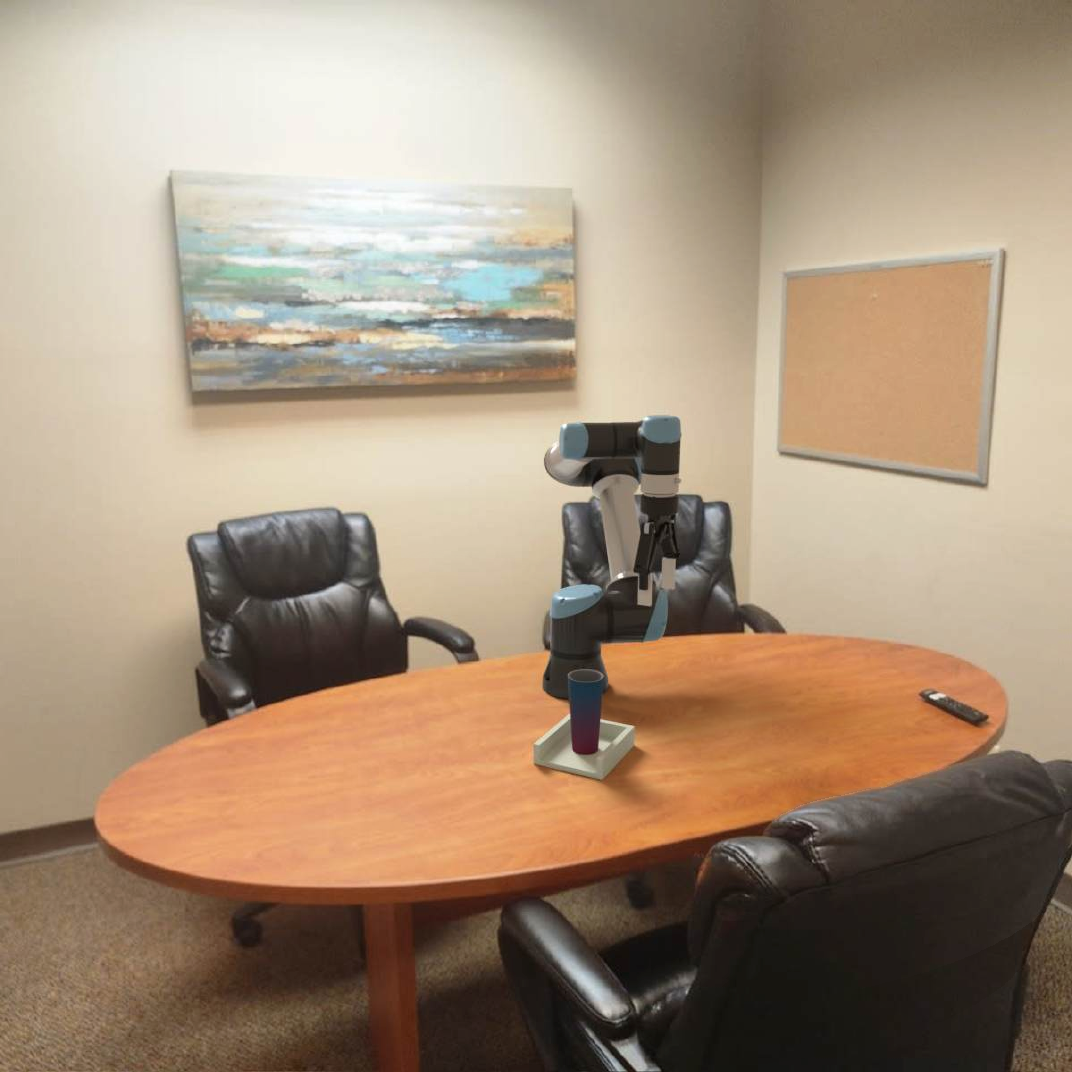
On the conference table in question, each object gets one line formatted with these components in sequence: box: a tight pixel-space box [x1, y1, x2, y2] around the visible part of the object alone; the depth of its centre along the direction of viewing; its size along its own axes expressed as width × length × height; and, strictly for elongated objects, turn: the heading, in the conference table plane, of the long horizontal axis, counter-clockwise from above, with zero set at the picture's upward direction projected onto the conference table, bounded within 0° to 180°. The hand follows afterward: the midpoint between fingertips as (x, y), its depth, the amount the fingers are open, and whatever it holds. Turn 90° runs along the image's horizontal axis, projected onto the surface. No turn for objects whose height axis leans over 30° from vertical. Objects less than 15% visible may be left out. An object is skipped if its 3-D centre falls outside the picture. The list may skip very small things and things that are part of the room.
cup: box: [568, 669, 604, 755], centre depth 168 cm, size 7×7×15 cm
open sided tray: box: [533, 712, 636, 781], centre depth 170 cm, size 14×16×4 cm
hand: (656, 596), depth 181 cm, fingers open, 13 cm apart
